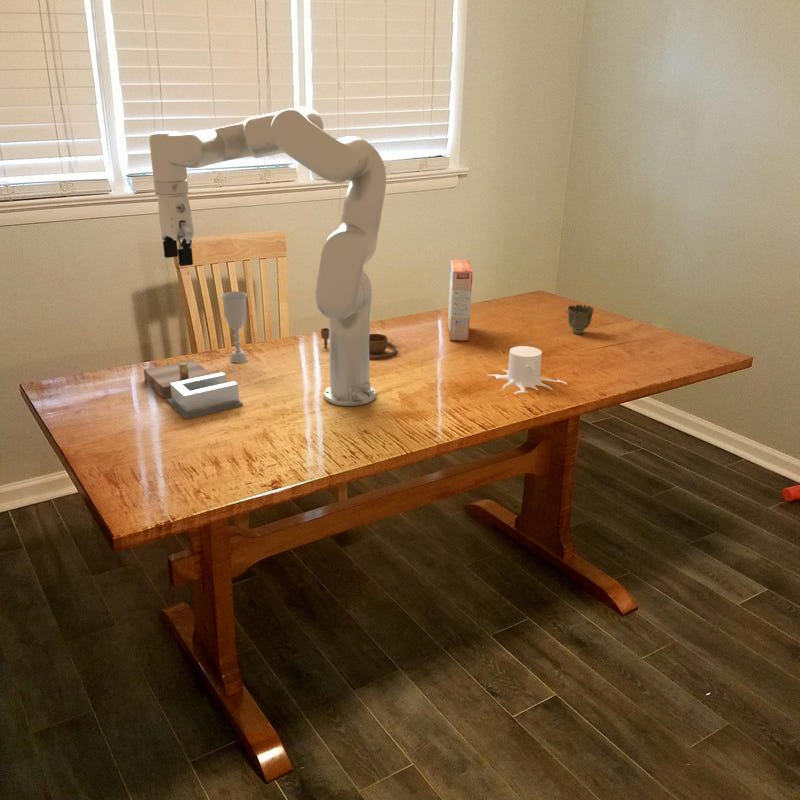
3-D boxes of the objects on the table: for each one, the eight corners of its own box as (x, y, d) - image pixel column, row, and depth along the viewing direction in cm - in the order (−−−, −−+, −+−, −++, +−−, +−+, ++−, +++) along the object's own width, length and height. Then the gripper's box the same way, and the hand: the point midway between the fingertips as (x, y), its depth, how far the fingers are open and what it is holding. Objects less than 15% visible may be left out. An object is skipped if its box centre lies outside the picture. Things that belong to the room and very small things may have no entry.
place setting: (367, 367, 213) (367, 346, 211) (317, 349, 225) (316, 329, 223) (411, 351, 225) (411, 331, 223) (361, 335, 237) (361, 316, 235)
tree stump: (497, 397, 195) (499, 366, 192) (478, 369, 213) (480, 340, 209) (575, 393, 198) (578, 363, 195) (550, 366, 215) (553, 337, 212)
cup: (565, 328, 244) (567, 303, 241) (589, 329, 243) (592, 304, 240) (566, 336, 237) (568, 310, 234) (591, 337, 236) (594, 311, 233)
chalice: (245, 365, 212) (241, 299, 205) (221, 363, 213) (216, 298, 206) (255, 356, 218) (251, 292, 211) (232, 354, 220) (227, 290, 212)
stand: (215, 387, 198) (213, 362, 195) (164, 398, 191) (161, 373, 188) (194, 370, 208) (191, 346, 205) (144, 380, 201) (141, 356, 199)
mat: (242, 405, 188) (242, 403, 187) (185, 419, 180) (185, 416, 180) (222, 389, 197) (222, 386, 196) (167, 401, 189) (166, 399, 189)
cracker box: (469, 341, 232) (473, 271, 223) (449, 341, 232) (451, 270, 223) (466, 326, 245) (470, 259, 236) (447, 326, 245) (449, 259, 236)
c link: (223, 389, 195) (222, 372, 193) (239, 401, 188) (237, 383, 186) (172, 400, 188) (170, 383, 186) (186, 413, 181) (184, 395, 180)
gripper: (201, 191, 179) (207, 266, 186) (173, 182, 192) (180, 252, 199) (168, 194, 175) (176, 270, 182) (143, 184, 188) (151, 255, 195)
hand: (178, 261), depth 191 cm, fingers open, 9 cm apart
